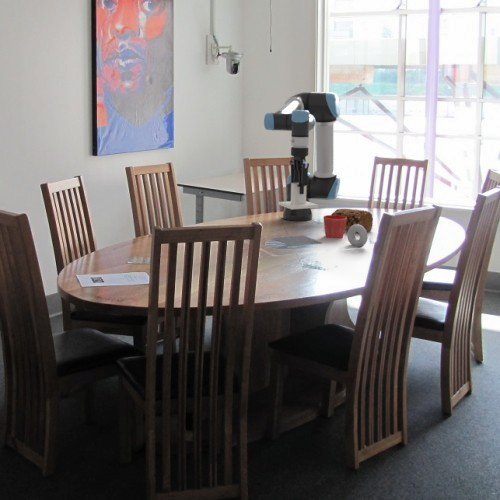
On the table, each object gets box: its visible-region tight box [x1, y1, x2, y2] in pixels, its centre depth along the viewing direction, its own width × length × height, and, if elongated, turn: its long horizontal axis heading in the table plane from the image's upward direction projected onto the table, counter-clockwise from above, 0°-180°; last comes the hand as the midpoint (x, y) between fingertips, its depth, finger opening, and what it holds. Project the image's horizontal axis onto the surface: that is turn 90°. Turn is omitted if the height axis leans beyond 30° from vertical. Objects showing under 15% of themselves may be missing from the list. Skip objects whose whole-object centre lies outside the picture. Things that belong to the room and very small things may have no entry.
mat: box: [272, 235, 323, 247], centre depth 356 cm, size 18×16×1 cm
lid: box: [277, 182, 320, 209], centre depth 352 cm, size 13×13×10 cm
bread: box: [331, 208, 374, 234], centre depth 386 cm, size 19×11×10 cm, turn 39°
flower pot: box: [323, 214, 347, 239], centre depth 365 cm, size 11×11×10 cm
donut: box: [346, 224, 369, 248], centre depth 346 cm, size 10×4×10 cm, turn 47°
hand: (298, 200), depth 353 cm, fingers closed on lid, 3 cm apart
